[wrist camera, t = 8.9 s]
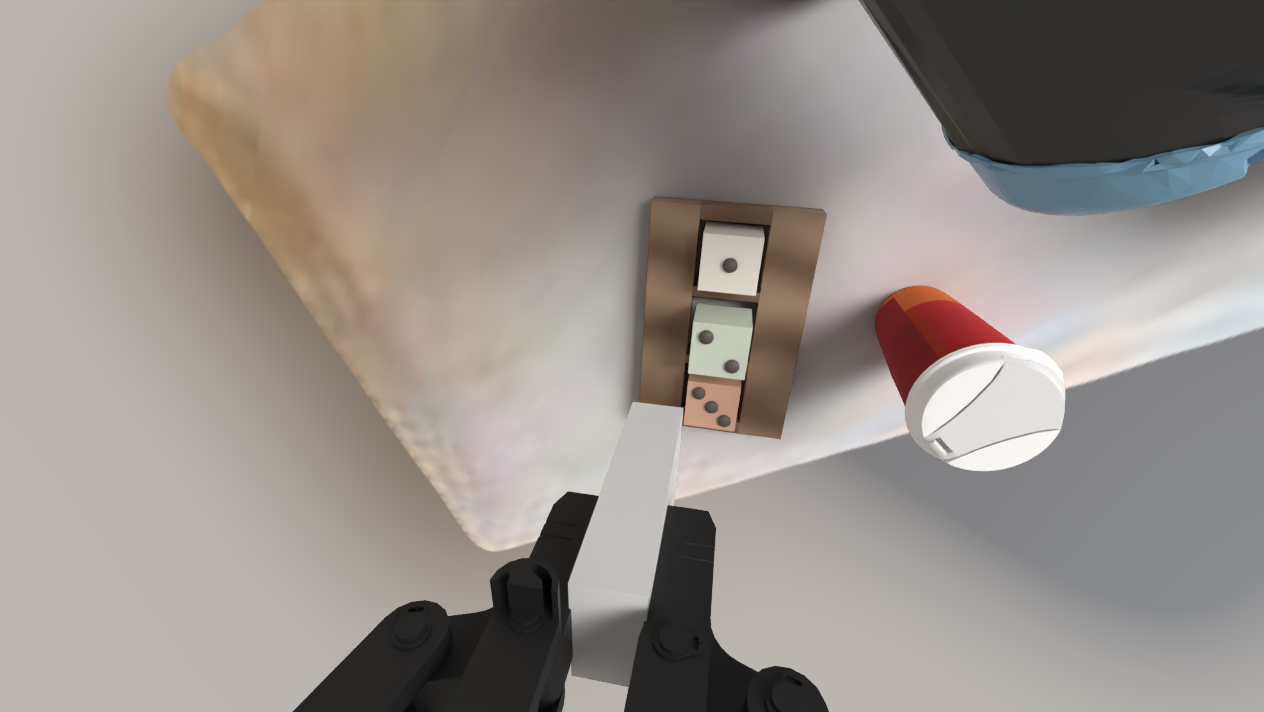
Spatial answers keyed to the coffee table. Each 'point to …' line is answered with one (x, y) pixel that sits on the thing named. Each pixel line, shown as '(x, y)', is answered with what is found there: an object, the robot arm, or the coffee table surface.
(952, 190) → the coffee table surface
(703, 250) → the tile one
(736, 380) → the tile three
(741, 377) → the tile two
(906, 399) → the coffee cup
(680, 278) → the tile board
